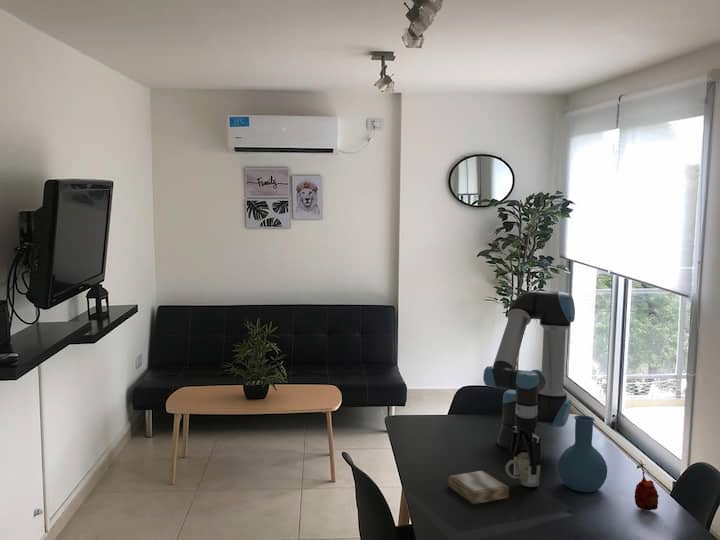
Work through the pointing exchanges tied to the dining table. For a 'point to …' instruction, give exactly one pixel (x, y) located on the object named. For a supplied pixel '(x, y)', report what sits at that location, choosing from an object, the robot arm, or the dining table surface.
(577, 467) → the vase
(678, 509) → the dining table surface
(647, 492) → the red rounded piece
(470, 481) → the plinth
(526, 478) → the mug
